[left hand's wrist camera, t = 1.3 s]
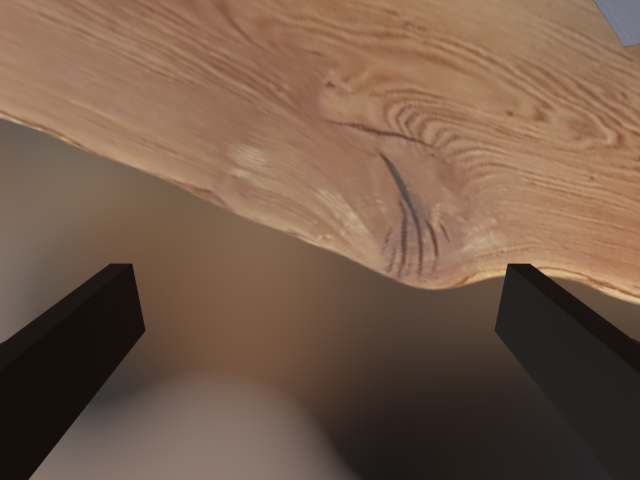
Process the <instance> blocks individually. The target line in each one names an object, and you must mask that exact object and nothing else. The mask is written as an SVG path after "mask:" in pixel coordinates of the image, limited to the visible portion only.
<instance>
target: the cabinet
mask: <svg viewBox="0 0 640 480" xmlns="http://www.w3.org/2000/svg"><path fill="white" fill-rule="evenodd" d="M594 2H595V3H596V5H597V6H598V8H599V9H600V11H601V12H602V14H603V15H604V17H605V18H606V20H607V21H608V23H609V25H610V26H611V28H612V29H613V31H614V32H615V34H616V35H617V37H618V38H619V40H620V41H621V43H622V44H623V46H624V47H626V46H631V45H636V44H640V0H594Z"/></svg>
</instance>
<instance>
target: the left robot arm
mask: <svg viewBox="0 0 640 480" xmlns="http://www.w3.org/2000/svg"><path fill="white" fill-rule="evenodd" d="M144 332H145V326H144V321H143V316H142V311H141V306H140V301H139V296H138V291H137V286H136V281H135V276H134V271H133V265H132V264H109V265H108V266H106V267H105V268H104V269H102V270H101V271H100V272H98V273H97V274H95V275H94V276H93V277H91V278H90V279H89V280H87V281H86V282H85V283H83V284H82V285H81V286H79V287H78V288H77V289H75V290H74V291H73V292H71V293H70V294H68V295H67V296H66V297H64V298H63V299H62V300H60V301H59V302H58V303H56V304H55V305H54V306H52V307H51V308H50V309H48V310H47V311H45V312H44V313H43V314H41V315H40V316H39V317H37V318H36V319H35V320H33V321H32V322H31V323H29V324H28V325H27V326H25V327H24V328H22V329H21V330H20V331H18V332H17V333H16V334H14V335H13V336H12V337H10V338H9V339H8V340H6V341H4V342H2V343H0V480H29V478H30V477H31V476H32V475H33V473H34V472H35V471H36V470H37V468H38V467H39V466H40V464H41V463H42V462H43V461H44V459H45V458H46V457H47V455H48V454H49V453H50V452H51V450H52V449H53V448H54V447H55V445H56V444H57V443H58V441H59V440H60V439H61V438H62V436H63V435H64V434H65V433H66V431H67V430H68V429H69V427H70V426H71V425H72V424H73V422H74V421H75V420H76V419H77V417H78V416H79V415H80V413H81V412H82V411H83V410H84V408H85V407H86V406H87V405H88V403H89V402H90V401H91V399H92V398H93V397H94V396H95V394H96V393H97V392H98V391H99V389H100V388H101V387H102V385H103V384H104V383H105V382H106V380H107V379H108V378H109V376H110V375H111V374H112V373H113V371H114V370H115V369H116V368H117V366H118V365H119V364H120V363H121V361H122V360H123V359H124V357H125V356H126V355H127V354H128V352H129V351H130V350H131V348H132V347H133V346H134V345H135V343H136V342H137V341H138V340H139V338H140V337H141V336H142V335H143V333H144ZM495 332H496V333H497V334H498V336H499V337H500V338H501V340H502V341H503V342H504V343H505V345H506V346H507V347H508V349H509V350H510V351H511V352H512V354H513V355H514V356H515V357H516V359H517V360H518V361H519V363H520V364H521V365H522V366H523V368H524V369H525V370H526V371H527V373H528V374H529V375H530V377H531V378H532V379H533V380H534V382H535V383H536V384H537V385H538V387H539V388H540V389H541V391H542V392H543V393H544V394H545V396H546V397H547V398H548V399H549V401H550V402H551V403H552V405H553V406H554V407H555V408H556V410H557V411H558V412H559V413H560V415H561V416H562V417H563V419H564V420H565V421H566V422H567V424H568V425H569V426H570V427H571V429H572V430H573V431H574V433H575V434H576V435H577V436H578V438H579V439H580V440H581V441H582V443H583V444H584V445H585V447H586V448H587V449H588V450H589V452H590V453H591V454H592V456H593V457H594V458H595V459H596V461H597V462H598V463H599V464H600V466H601V467H602V468H603V469H604V471H605V472H606V473H607V475H608V476H609V477H610V478H611V480H640V342H639V341H637V340H635V339H631V338H630V337H628V336H627V335H626V334H624V333H623V332H622V331H620V330H619V329H617V328H616V327H615V326H613V325H612V324H611V323H609V322H608V321H607V320H605V319H604V318H603V317H601V316H600V315H599V314H597V313H596V312H595V311H593V310H592V309H590V308H589V307H588V306H586V305H585V304H584V303H582V302H581V301H580V300H578V299H577V298H576V297H574V296H573V295H571V294H570V293H569V292H567V291H566V290H565V289H563V288H562V287H561V286H559V285H558V284H557V283H555V282H554V281H553V280H551V279H550V278H549V277H547V276H546V275H545V274H543V273H542V272H540V271H539V270H538V269H536V268H535V267H534V266H532V265H531V264H508V265H507V270H506V275H505V281H504V286H503V291H502V296H501V301H500V306H499V311H498V316H497V321H496V326H495Z"/></svg>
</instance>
